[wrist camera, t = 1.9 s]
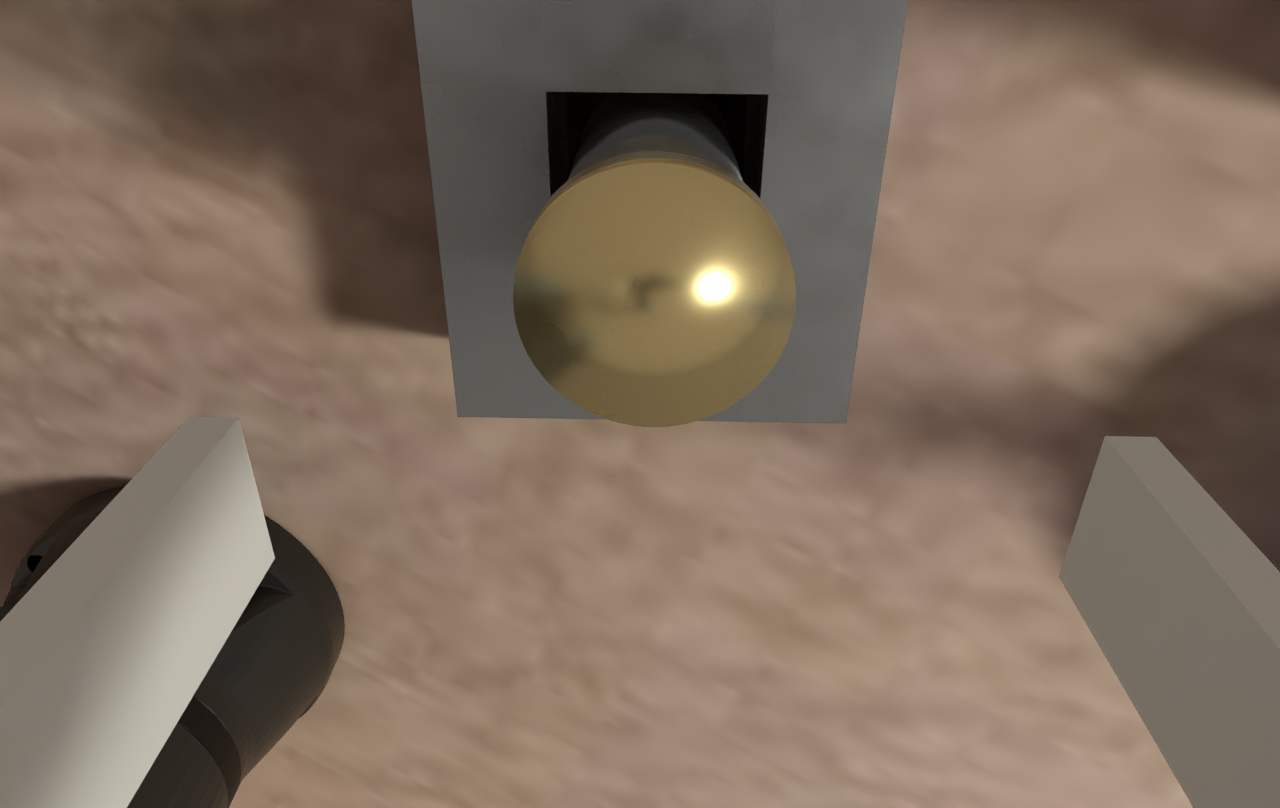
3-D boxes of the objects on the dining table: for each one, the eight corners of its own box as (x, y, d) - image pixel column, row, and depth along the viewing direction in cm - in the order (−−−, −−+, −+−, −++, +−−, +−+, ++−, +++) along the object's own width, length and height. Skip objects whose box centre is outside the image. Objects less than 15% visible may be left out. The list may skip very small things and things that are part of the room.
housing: (486, 344, 37) (457, 416, 31) (447, -93, 29) (401, -93, 24) (818, 349, 37) (845, 423, 31) (873, -89, 29) (921, -87, 23)
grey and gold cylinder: (570, 237, 34) (521, 424, 22) (564, 59, 31) (503, 162, 19) (738, 240, 34) (782, 428, 22) (749, 62, 31) (810, 166, 19)
